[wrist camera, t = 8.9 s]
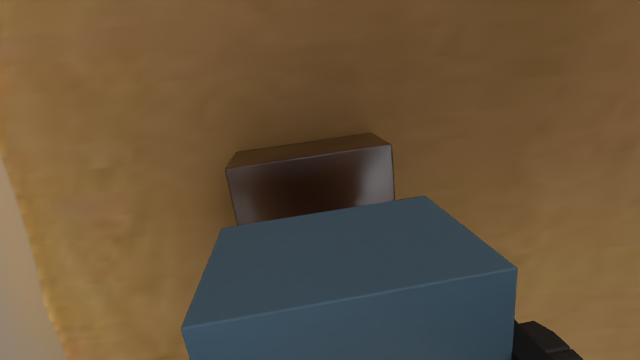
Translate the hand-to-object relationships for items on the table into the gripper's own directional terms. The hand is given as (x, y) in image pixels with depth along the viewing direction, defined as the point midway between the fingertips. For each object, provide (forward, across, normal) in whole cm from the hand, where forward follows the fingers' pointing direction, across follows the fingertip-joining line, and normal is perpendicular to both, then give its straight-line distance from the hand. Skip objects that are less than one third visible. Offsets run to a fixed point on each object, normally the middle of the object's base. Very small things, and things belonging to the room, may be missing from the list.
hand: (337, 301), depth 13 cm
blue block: (0, 0, 0) cm, 0 cm away
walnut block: (+12, 0, 0) cm, 12 cm away
